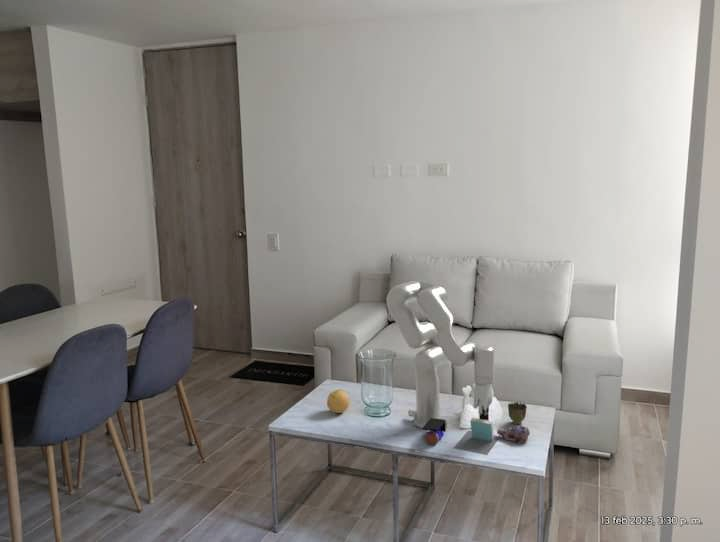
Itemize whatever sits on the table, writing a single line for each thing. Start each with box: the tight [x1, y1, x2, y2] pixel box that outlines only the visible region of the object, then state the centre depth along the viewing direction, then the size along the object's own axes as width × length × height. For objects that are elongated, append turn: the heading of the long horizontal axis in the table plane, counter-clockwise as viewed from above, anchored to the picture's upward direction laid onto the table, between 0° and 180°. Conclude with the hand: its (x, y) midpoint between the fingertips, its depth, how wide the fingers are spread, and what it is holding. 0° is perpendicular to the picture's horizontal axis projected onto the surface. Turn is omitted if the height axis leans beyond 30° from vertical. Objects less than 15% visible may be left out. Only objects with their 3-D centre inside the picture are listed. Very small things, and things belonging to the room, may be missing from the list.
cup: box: [507, 401, 527, 426], centre depth 241 cm, size 8×7×8 cm
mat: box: [453, 430, 501, 456], centre depth 225 cm, size 13×17×1 cm
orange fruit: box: [326, 389, 351, 414], centre depth 258 cm, size 10×10×10 cm
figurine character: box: [421, 418, 448, 446], centre depth 230 cm, size 7×8×15 cm
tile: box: [470, 417, 494, 441], centre depth 227 cm, size 8×2×8 cm, turn 61°
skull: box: [496, 425, 531, 444], centre depth 227 cm, size 12×8×6 cm, turn 60°
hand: (483, 423), depth 228 cm, fingers closed
